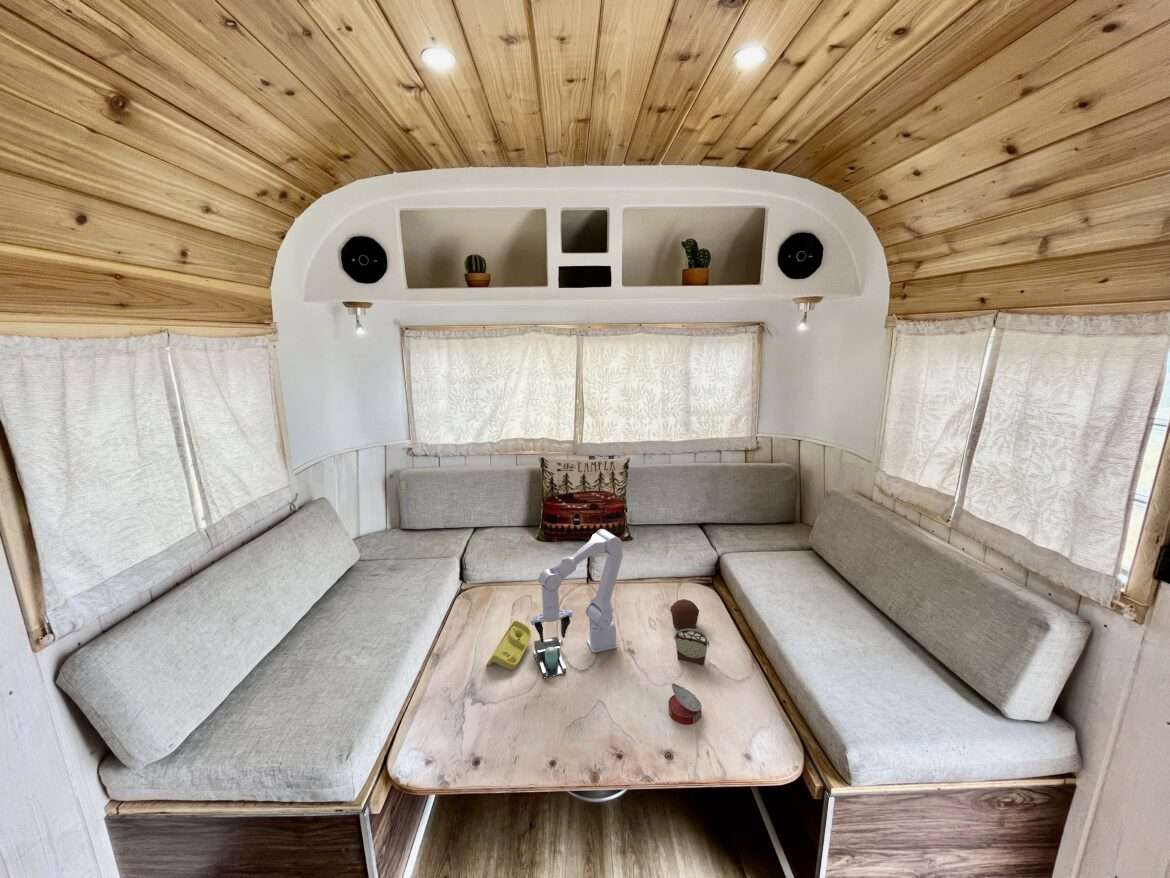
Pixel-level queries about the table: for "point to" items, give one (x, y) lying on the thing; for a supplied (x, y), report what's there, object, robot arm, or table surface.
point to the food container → (691, 646)
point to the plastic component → (512, 646)
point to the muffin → (684, 614)
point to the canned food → (684, 706)
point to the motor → (540, 656)
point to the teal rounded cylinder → (551, 658)
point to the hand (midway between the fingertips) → (552, 638)
